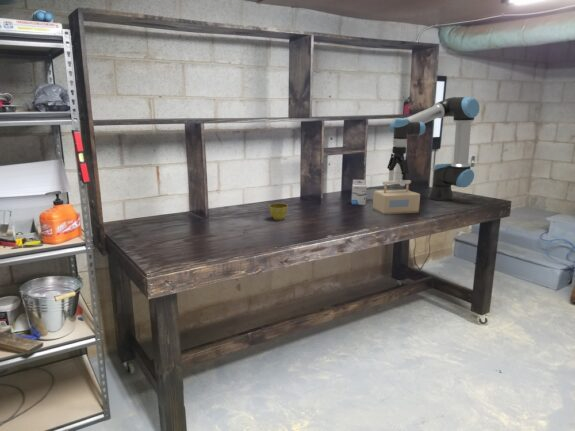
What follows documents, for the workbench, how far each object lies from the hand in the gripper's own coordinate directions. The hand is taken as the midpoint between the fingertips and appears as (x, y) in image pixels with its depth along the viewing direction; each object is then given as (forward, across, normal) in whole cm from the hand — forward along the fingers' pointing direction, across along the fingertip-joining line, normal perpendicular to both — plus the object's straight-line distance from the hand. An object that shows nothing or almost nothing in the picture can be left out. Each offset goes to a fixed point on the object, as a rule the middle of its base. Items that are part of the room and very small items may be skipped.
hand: (396, 183), depth 253 cm
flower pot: (+16, +4, -71) cm, 73 cm away
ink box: (+16, -20, -14) cm, 29 cm away
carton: (+16, +1, 0) cm, 16 cm away
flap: (+6, -3, 0) cm, 6 cm away
